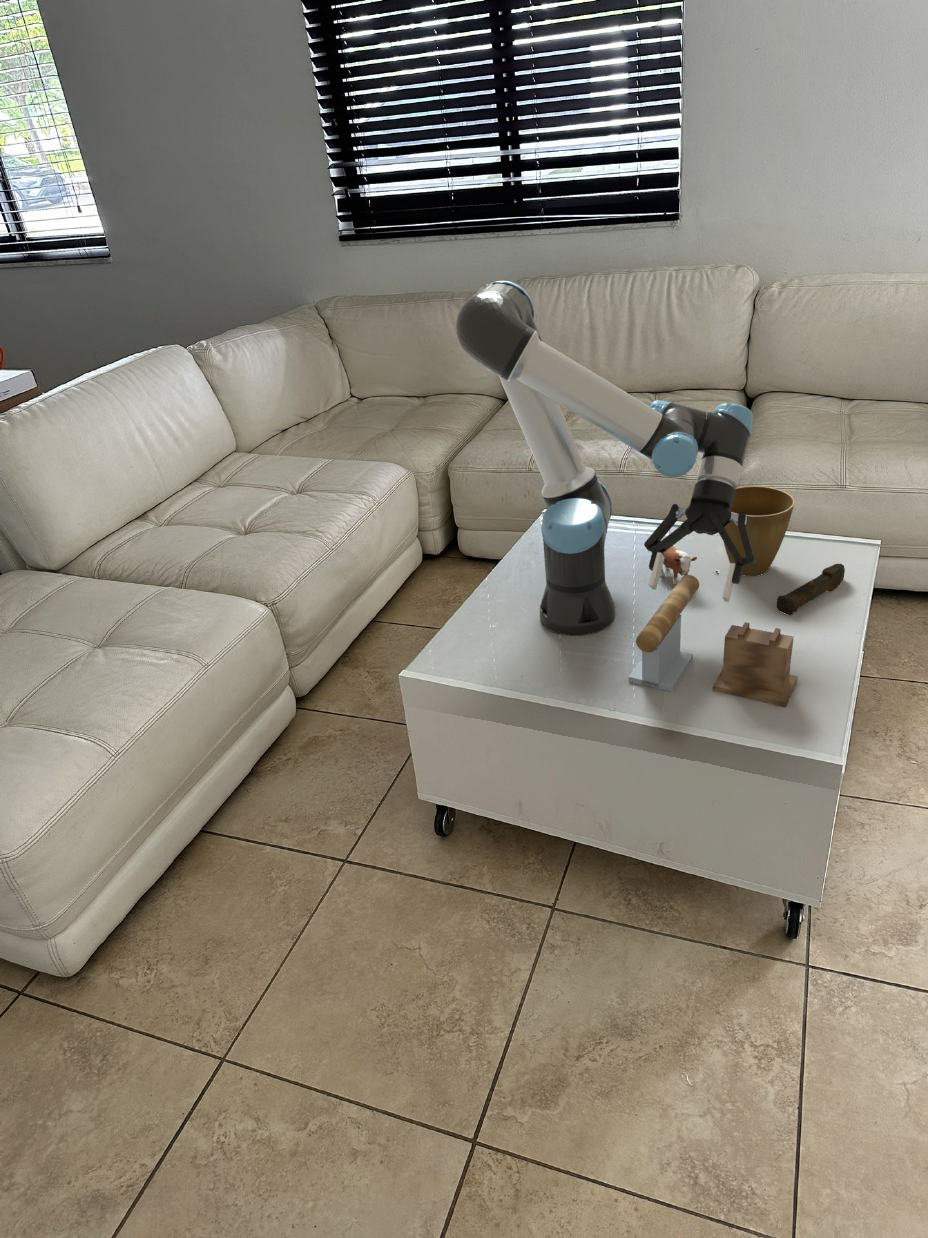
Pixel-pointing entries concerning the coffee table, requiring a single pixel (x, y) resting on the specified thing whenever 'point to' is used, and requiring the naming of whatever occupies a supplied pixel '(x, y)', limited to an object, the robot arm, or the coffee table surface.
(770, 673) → the wooden stand
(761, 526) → the plant pot
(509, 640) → the coffee table surface
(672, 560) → the bull figurine
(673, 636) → the cradle
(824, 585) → the hand tool
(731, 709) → the coffee table surface
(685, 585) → the rod
